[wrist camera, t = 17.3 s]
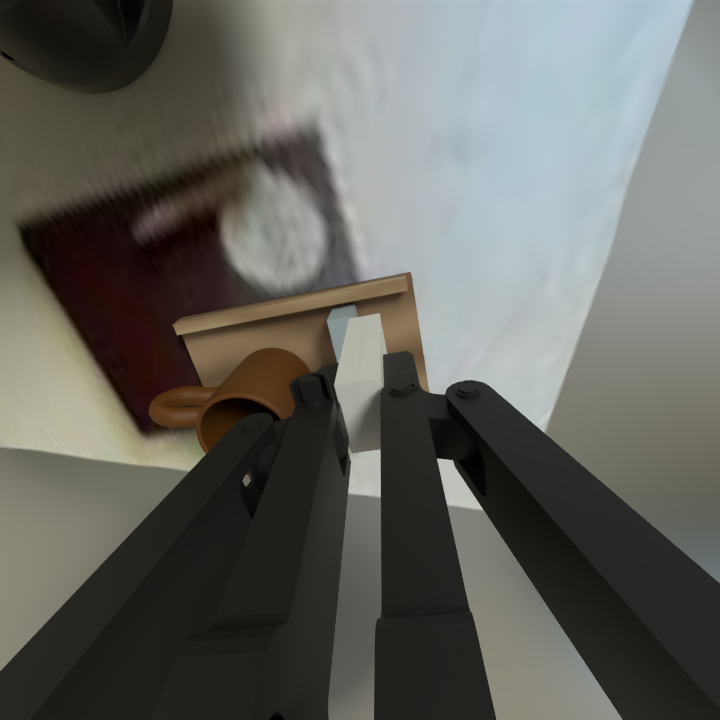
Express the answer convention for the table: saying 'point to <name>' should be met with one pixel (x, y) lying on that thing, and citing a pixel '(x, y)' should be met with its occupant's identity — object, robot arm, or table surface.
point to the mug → (233, 396)
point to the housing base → (301, 327)
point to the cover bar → (340, 325)
